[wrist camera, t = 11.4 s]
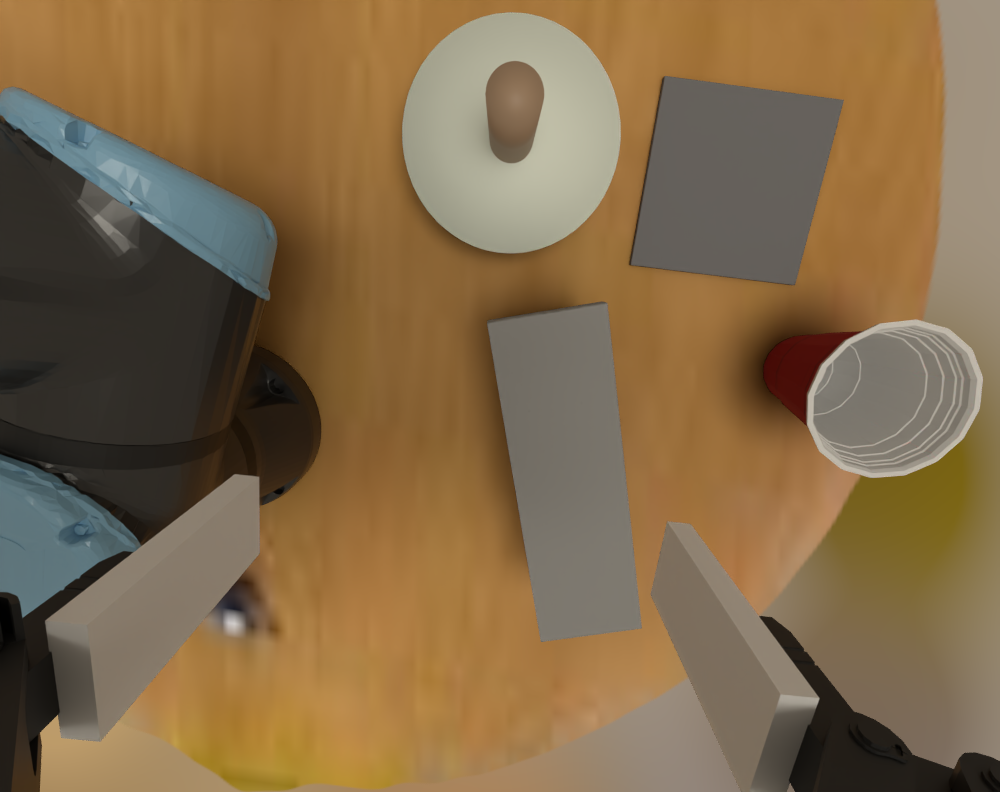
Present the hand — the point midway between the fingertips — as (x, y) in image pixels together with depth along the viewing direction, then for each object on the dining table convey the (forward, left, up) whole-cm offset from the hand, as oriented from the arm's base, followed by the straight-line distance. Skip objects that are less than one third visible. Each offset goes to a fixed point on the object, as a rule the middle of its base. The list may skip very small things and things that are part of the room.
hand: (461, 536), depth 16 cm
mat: (+18, +17, -29) cm, 38 cm away
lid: (0, +17, -24) cm, 29 cm away
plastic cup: (+27, +3, -29) cm, 40 cm away
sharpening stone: (+7, -6, -29) cm, 30 cm away
